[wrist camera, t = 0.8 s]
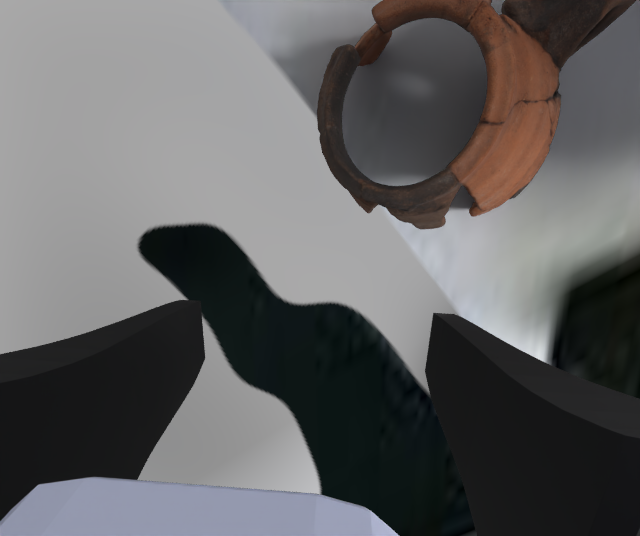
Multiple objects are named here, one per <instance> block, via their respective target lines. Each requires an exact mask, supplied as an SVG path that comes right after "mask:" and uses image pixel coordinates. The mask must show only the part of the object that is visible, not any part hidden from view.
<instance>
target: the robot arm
mask: <svg viewBox="0 0 640 536" xmlns="http://www.w3.org/2000/svg"><path fill="white" fill-rule="evenodd" d="M204 360H205V350H204V338H203V326H202V314H201V302H200V301H191V300H179V301H174V302H171V303H168V304H165V305H162V306H160V307H156V308H154V309H151V310H148V311H146V312H143V313H141V314H138V315H136V316H133V317H130V318H127V319H125V320H122V321H119V322H116V323H114V324H111V325H108V326H105V327H102V328H99V329H96V330H93V331H91V332H88V333H85V334H81V335H78V336H75V337H71V338H68V339H64V340H60V341H57V342H53V343H49V344H45V345H41V346H37V347H33V348H28V349H23V350H19V351H14V352H9V353H4V354H0V536H399V535H398V534H397V533H395V532H394V531H393V530H392V529H391V528H390V527H389V526H387V525H386V524H385V523H384V522H383V521H382V520H381V519H379V518H378V517H377V516H376V515H375V514H374V513H373V512H371V511H370V510H368V509H367V508H365V507H363V506H359V505H355V504H352V503H348V502H345V501H341V500H338V499H334V498H330V497H327V496H323V495H320V494H313V493H300V492H287V491H274V490H260V489H248V488H235V487H222V486H221V487H220V486H207V485H195V484H181V483H169V482H156V481H142V480H137V479H138V477H139V475H140V473H141V471H142V469H143V467H144V465H145V463H146V461H147V459H148V458H149V456H150V454H151V452H152V451H153V449H154V447H155V445H156V444H157V442H158V441H159V439H160V437H161V436H162V434H163V433H164V431H165V430H166V428H167V426H168V425H169V423H170V422H171V420H172V418H173V417H174V415H175V414H176V412H177V411H178V409H179V407H180V406H181V404H182V403H183V401H184V400H185V398H186V396H187V394H188V393H189V391H190V390H191V388H192V386H193V384H194V382H195V380H196V378H197V376H198V374H199V372H200V369H201V367H202V364H203V362H204ZM425 373H426V378H427V382H428V386H429V391H430V395H431V399H432V402H433V405H434V408H435V410H436V413H437V415H438V418H439V421H440V423H441V426H442V428H443V431H444V434H445V436H446V439H447V441H448V444H449V446H450V449H451V451H452V454H453V457H454V459H455V462H456V464H457V467H458V470H459V473H460V476H461V479H462V481H463V484H464V488H465V492H466V495H467V499H468V503H469V506H470V510H471V513H472V517H473V521H474V525H475V529H476V532H477V536H640V399H638V398H635V397H632V396H629V395H626V394H623V393H620V392H617V391H614V390H611V389H609V388H606V387H603V386H600V385H597V384H595V383H592V382H589V381H587V380H584V379H582V378H579V377H577V376H574V375H572V374H570V373H567V372H565V371H563V370H560V369H558V368H556V367H553V366H551V365H549V364H547V363H545V362H543V361H540V360H538V359H536V358H534V357H532V356H531V355H529V354H527V353H525V352H523V351H521V350H519V349H517V348H515V347H513V346H511V345H510V344H508V343H506V342H504V341H502V340H501V339H499V338H497V337H495V336H494V335H492V334H490V333H488V332H487V331H485V330H483V329H482V328H480V327H478V326H476V325H475V324H473V323H471V322H469V321H468V320H466V319H464V318H462V317H460V316H458V315H455V314H442V313H433V320H432V327H431V334H430V341H429V348H428V355H427V362H426V369H425Z"/></svg>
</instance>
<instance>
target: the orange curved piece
mask: <svg viewBox="0 0 640 536" xmlns="http://www.w3.org/2000/svg"><path fill="white" fill-rule="evenodd" d="M635 1H636V0H505V1H504V3H503V5H502V14H501V15H498V14H497V13H496V12H495V10H494V8H493V7H492V6H491V2H492V1H491V0H383V1H381V2H380V3H378V4H377V5H376V6H375V7H373V9H372V15H373V17H374V19H375V22H376V23H375V24H374V25H373V26H372V27H371V28H370V29H369V30H368V31H367V32H365V33H364V35H363V36H362V37H361V38H360V40H359V41H358V43H357V44H356V46H355V47H354V46H352V45H349V44H348V45H344V46H340V47H338V48H337V49H336V50H335V51H334V53H333V54H332V57H331V59H330V62H329V64H328V66H327V69H326V71H325V74H324V79H323V83H322V86H321V89H320V93H319V100H318V108H317V120H318V130H319V132H320V143H321V148H322V153H323V155H324V157H325V159H326V162H327V164H328V166H329V168H330V170H331V172H332V174H333V175H334V177H335V178H336V179H337V180H338V181H339V183H340V184H341V185H342V186H343V187H344V188H346V189H347V190H348V191H349V192H350V194H351V195H352V197H353V198H354V199H355V201H356V202H357V203H358V204H359V206H361V207H362V208H363V209H364V210H365V211H366V212H367V213H370V212H371V211H372V210H373V208H375V207H376V206H377V205H378V204H379V205H381V206H383V207H386V208H387V209H388V211H389V212H390V214H391V215H393V216H395V217H396V218H397V219H398V220H400V221H403V222H408V223H412V224H413V225H414V226H415V227H417V228H419V229H433V228H439V227H442V226H443V225H444V224H445V222H446V221H445V217H444V216H445V215H446V213H447V212H448V210H449V207H450V204H451V202H452V201H453V199H454V197H455V195H456V193H457V192H458V191H459V189H460V187H461V186H464V187H465V188H466V190H467V191H468V193H469V194H470V195H471V196H472V197H473V199H474V200H475V202H474V203H473V204H472V207H471V208H470V209H469V213H470V215H471V216H477V215H480V214H483V213H486V212H488V211H491V210H492V209H494V208H496V207H498V206H500V205H501V204H503V203H504V202H505V201H507V200H508V199H511V198H515V197H516V196H517V195H518V194H520V193H521V191H522V190H523V189H524V188H525V187H526V186H527V185H528V184H529V182H530V181H531V180H532V179H533V177H534V176H535V174H536V173H537V171H538V170H539V168H540V167H541V165H542V163H543V162H544V160H545V158H546V156H547V154H548V152H549V146H550V144H551V142H552V140H553V137H554V134H555V130H556V127H557V123H558V118H559V112H560V106H561V95H560V94H559V93H558V88H559V79H558V77H559V72H560V71H561V68H562V67H563V65H564V64H565V62H566V60H567V59H568V58H569V57H570V56H572V55H573V54H574V53H575V52H576V51H578V50H579V49H580V48H581V47H583V46H584V45H585V44H587V43H588V42H589V41H591V40H592V39H593V38H594V37H596V36H597V35H598V34H600V33H601V32H602V31H603V30H604V29H605V28H607V27H608V26H609V25H610V24H611V23H612V22H614V21H615V20H616V19H617V18H618V17H619V16H620V15H621V14H623V13H624V12H625V11H626V10H627V9H628V8H629V7H630V6H631V5H632V4H633V3H634V2H635ZM424 18H441V19H446V20H449V21H453V22H455V23H457V24H458V25H460V26H461V27H463V28H464V29H465V30H466V31H468V32H470V33H471V34H472V35H473V36H474V38H475V40H476V41H477V43H478V44H479V47H480V49H481V51H482V54H483V56H484V59H485V63H486V69H487V96H486V101H485V105H484V109H483V112H482V115H481V118H480V121H479V123H478V125H477V127H476V129H475V131H474V133H473V135H472V137H471V138H470V140H469V141H468V143H467V144H466V146H465V147H464V149H463V150H462V151H461V152H460V153H459V154H458V155H457V157H456V158H455V159H454V160H453V161H452V162H450V164H449V165H448V166H447V167H446V169H444V170H442V171H441V172H439V173H438V174H436V175H434V176H432V177H431V178H429V179H426V180H424V181H422V182H419V183H416V184H412V185H406V186H388V185H382V184H379V183H375V182H373V181H372V180H370V179H368V178H367V177H366V176H364V175H363V174H362V173H361V172H360V171H359V170H358V169H357V168H356V166H355V165H354V164H353V162H352V160H351V159H350V157H349V155H348V153H347V150H346V148H345V144H344V140H343V134H342V109H343V102H344V97H345V94H346V91H347V87H348V85H349V82H350V80H351V78H352V75H353V74H354V71H355V70H356V68H357V67H358V66H364V65H369V64H372V63H373V62H374V61H375V60H376V59H377V58H378V57H379V55H380V54H381V52H382V51H383V50H384V48H385V46H386V45H387V43H388V42H389V40H390V38H391V35H392V30H394V29H395V28H397V27H399V26H401V25H403V24H406V23H408V22H411V21H414V20H418V19H424Z"/></svg>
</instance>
